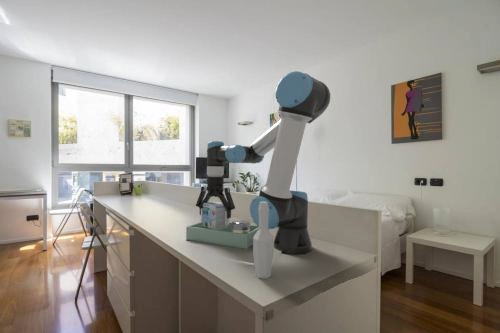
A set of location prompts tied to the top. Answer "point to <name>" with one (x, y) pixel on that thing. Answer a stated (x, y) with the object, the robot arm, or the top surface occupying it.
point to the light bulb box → (214, 215)
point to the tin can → (240, 226)
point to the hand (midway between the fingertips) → (214, 223)
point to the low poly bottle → (263, 244)
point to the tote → (221, 235)
